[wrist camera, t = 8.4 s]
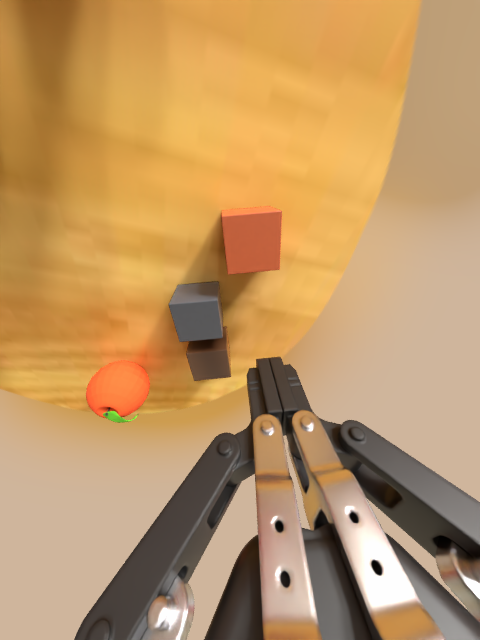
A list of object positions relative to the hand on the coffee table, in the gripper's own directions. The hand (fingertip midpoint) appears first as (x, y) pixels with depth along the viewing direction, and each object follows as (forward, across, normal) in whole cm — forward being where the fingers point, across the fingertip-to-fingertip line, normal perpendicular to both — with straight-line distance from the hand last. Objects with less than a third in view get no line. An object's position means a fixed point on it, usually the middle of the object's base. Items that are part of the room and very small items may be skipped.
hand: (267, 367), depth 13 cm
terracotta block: (+12, 0, -6) cm, 13 cm away
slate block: (+12, +5, +1) cm, 13 cm away
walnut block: (+12, +5, +7) cm, 15 cm away
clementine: (+12, +17, +11) cm, 24 cm away
